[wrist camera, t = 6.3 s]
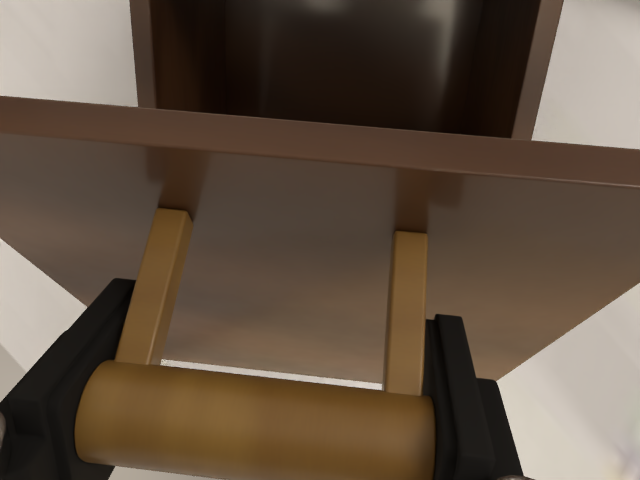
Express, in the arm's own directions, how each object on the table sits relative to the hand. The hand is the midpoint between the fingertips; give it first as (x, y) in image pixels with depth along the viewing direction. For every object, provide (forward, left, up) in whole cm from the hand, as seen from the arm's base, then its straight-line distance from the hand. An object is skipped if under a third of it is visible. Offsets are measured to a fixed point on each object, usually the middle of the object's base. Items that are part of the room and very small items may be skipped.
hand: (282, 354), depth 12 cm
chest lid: (+2, 0, -5) cm, 6 cm away
